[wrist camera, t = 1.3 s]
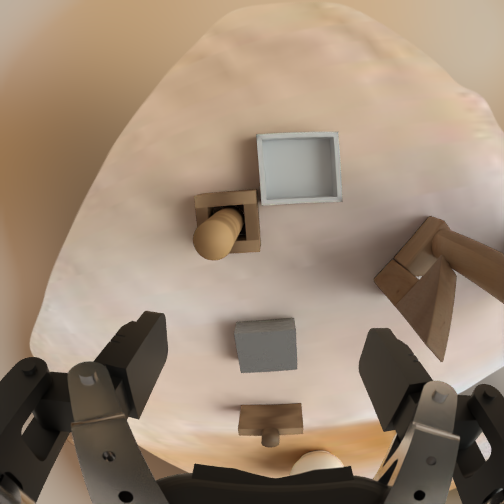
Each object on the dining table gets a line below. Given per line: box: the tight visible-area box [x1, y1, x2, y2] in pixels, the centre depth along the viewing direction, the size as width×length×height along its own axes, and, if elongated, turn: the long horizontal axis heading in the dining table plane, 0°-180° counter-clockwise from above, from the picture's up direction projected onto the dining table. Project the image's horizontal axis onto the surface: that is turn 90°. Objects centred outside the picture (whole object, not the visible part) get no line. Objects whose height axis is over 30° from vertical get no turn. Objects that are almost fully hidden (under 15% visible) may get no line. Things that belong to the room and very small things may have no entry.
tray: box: [256, 132, 342, 206], centre depth 27 cm, size 8×7×2 cm
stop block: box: [238, 403, 303, 447], centre depth 34 cm, size 9×2×7 cm, turn 94°
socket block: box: [194, 189, 261, 253], centre depth 29 cm, size 6×6×3 cm
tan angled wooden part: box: [374, 216, 504, 362], centre depth 21 cm, size 4×11×18 cm, turn 139°
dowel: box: [193, 205, 245, 260], centre depth 26 cm, size 3×3×10 cm
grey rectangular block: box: [234, 318, 297, 373], centre depth 33 cm, size 7×6×3 cm
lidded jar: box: [290, 450, 344, 476], centre depth 37 cm, size 11×11×9 cm
